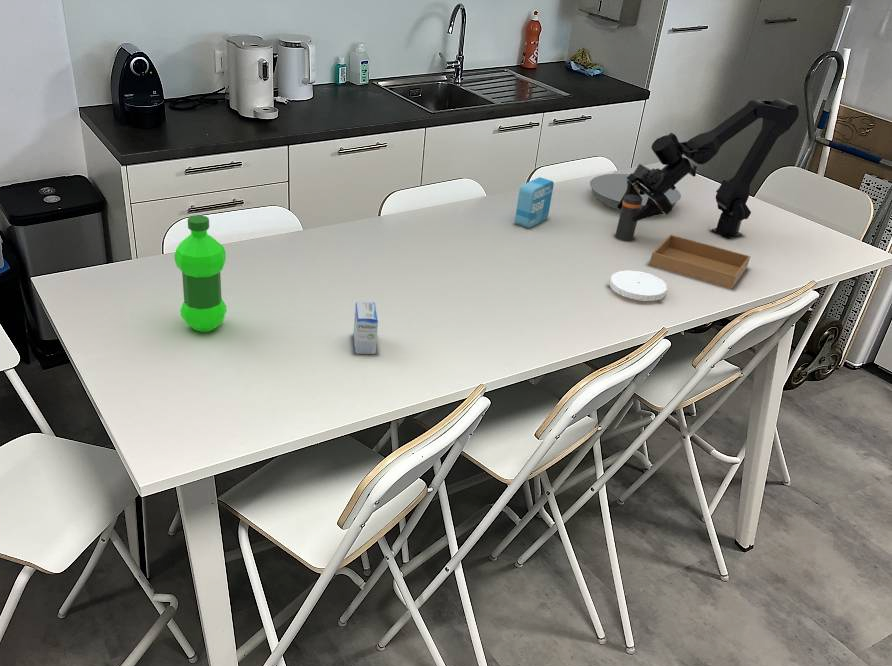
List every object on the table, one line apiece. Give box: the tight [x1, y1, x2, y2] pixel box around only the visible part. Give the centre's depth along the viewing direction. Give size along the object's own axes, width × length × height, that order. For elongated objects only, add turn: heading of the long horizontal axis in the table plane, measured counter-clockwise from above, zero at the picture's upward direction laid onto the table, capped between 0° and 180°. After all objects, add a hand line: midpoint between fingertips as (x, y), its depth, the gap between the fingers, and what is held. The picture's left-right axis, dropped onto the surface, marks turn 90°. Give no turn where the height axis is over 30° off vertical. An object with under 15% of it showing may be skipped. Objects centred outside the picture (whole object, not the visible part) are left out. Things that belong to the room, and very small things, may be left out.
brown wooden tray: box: [649, 234, 751, 290], centre depth 229 cm, size 16×22×4 cm
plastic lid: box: [608, 269, 668, 302], centre depth 215 cm, size 14×14×2 cm
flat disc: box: [589, 173, 682, 211], centre depth 268 cm, size 28×28×4 cm
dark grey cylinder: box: [615, 194, 642, 242], centre depth 242 cm, size 5×5×12 cm
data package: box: [514, 176, 555, 229], centre depth 247 cm, size 12×4×12 cm, turn 141°
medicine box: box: [352, 301, 379, 355], centre depth 182 cm, size 8×4×9 cm, turn 5°
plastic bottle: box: [174, 214, 227, 333], centre depth 181 cm, size 10×10×25 cm
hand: (625, 214), depth 241 cm, fingers open, 9 cm apart
